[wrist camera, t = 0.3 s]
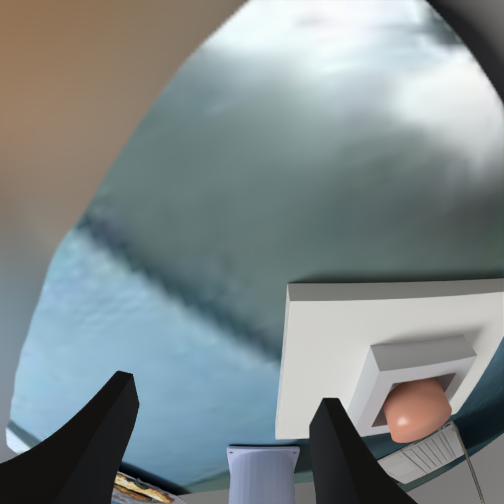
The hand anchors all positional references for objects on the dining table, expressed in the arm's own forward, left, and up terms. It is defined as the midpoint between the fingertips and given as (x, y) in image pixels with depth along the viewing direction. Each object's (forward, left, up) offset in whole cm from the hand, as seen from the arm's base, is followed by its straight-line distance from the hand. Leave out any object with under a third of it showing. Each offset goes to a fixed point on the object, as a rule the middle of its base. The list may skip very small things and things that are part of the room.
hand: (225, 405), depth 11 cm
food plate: (-44, +23, -10) cm, 51 cm away
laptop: (-32, -27, -10) cm, 43 cm away
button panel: (-8, -13, -10) cm, 18 cm away
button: (-8, -13, -6) cm, 17 cm away
